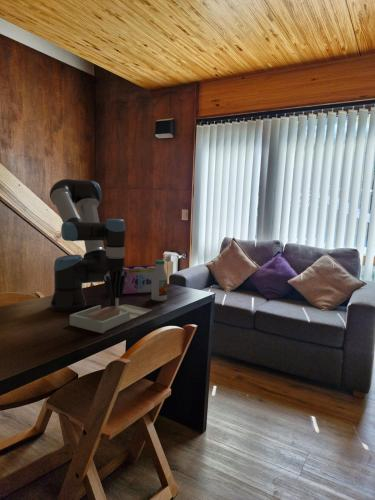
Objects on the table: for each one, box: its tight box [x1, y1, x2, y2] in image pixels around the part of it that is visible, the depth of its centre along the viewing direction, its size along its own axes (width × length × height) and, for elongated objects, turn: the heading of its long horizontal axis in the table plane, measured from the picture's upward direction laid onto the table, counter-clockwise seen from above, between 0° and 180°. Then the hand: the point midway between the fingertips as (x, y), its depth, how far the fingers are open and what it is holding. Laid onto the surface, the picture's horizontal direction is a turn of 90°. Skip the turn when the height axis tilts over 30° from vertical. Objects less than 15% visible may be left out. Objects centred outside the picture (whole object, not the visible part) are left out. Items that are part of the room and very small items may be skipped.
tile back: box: [99, 306, 120, 318], centre depth 140 cm, size 6×6×4 cm
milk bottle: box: [150, 259, 168, 302], centre depth 173 cm, size 8×8×20 cm
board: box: [119, 304, 153, 321], centre depth 151 cm, size 17×16×1 cm
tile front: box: [87, 310, 110, 321], centre depth 135 cm, size 6×6×4 cm
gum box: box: [122, 264, 156, 295], centre depth 189 cm, size 24×8×14 cm, turn 113°
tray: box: [69, 304, 131, 334], centre depth 136 cm, size 16×16×4 cm
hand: (114, 313), depth 144 cm, fingers closed
